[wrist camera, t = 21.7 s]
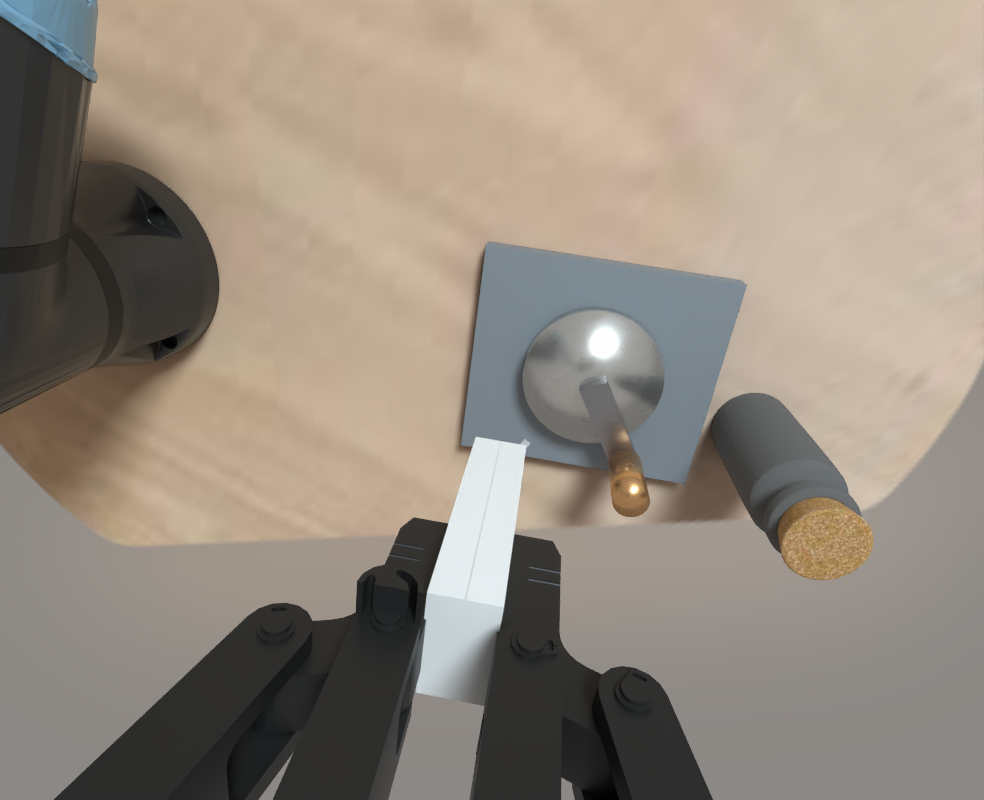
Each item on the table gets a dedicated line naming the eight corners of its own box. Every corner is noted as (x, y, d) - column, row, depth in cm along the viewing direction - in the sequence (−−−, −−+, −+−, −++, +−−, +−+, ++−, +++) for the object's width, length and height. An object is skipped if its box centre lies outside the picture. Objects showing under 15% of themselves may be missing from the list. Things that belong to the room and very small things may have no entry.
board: (463, 441, 50) (459, 451, 48) (488, 241, 43) (485, 245, 41) (680, 479, 49) (683, 490, 47) (741, 280, 42) (747, 285, 40)
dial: (618, 470, 47) (627, 528, 40) (497, 383, 45) (484, 428, 38) (710, 377, 43) (737, 423, 36) (581, 278, 41) (584, 307, 34)
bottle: (799, 445, 46) (896, 572, 33) (723, 469, 48) (786, 600, 34) (778, 380, 45) (871, 486, 31) (700, 408, 46) (757, 520, 32)
